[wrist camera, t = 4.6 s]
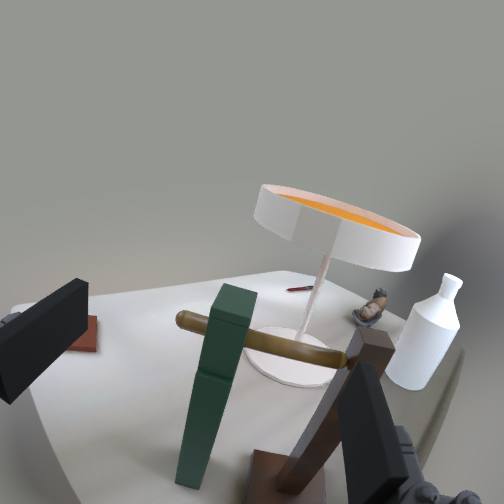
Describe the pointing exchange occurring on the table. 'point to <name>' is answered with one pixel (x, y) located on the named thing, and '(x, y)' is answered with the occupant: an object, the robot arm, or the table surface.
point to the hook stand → (321, 424)
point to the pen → (301, 288)
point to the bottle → (425, 337)
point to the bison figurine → (371, 309)
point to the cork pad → (87, 337)
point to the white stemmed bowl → (325, 260)
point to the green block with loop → (214, 379)
